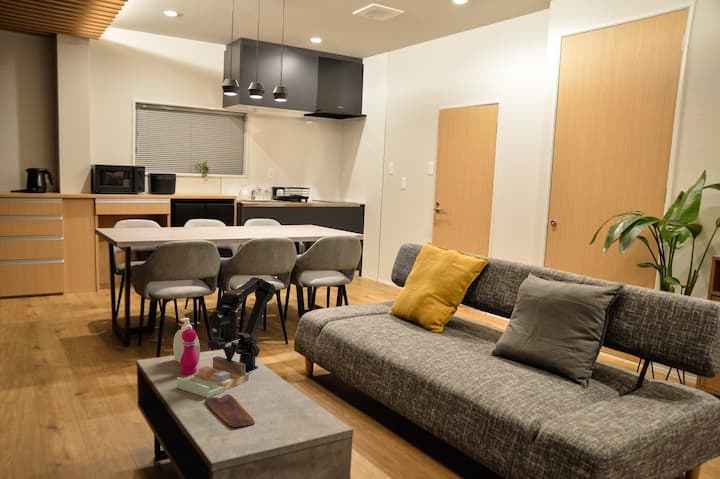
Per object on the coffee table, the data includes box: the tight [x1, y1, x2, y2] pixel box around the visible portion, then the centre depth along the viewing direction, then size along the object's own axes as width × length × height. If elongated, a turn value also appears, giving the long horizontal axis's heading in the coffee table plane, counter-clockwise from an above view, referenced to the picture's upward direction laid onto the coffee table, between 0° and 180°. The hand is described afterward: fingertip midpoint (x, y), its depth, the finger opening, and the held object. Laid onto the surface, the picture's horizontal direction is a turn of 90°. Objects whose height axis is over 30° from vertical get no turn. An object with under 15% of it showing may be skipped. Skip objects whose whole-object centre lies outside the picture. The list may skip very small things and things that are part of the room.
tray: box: [176, 376, 225, 399], centre depth 211 cm, size 8×17×4 cm, turn 58°
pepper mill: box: [179, 325, 199, 376], centre depth 228 cm, size 7×7×20 cm
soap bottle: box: [172, 317, 201, 366], centre depth 239 cm, size 16×5×20 cm, turn 43°
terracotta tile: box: [198, 365, 215, 378], centre depth 218 cm, size 4×4×2 cm
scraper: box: [212, 355, 246, 377], centre depth 223 cm, size 2×16×5 cm, turn 58°
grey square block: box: [213, 370, 230, 382], centre depth 214 cm, size 4×4×2 cm
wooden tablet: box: [204, 394, 256, 428], centre depth 192 cm, size 26×2×10 cm
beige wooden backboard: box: [193, 369, 249, 392], centre depth 220 cm, size 14×16×3 cm
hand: (229, 361), depth 223 cm, fingers closed, pressing on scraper
